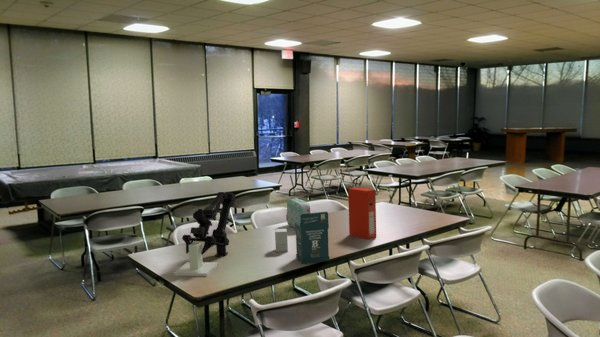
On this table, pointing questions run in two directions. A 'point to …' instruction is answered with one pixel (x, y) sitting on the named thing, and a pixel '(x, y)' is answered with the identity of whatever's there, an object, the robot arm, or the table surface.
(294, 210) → the lunch box
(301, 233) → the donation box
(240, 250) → the table surface
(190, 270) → the grey board
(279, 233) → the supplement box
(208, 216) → the robot arm
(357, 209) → the file binder
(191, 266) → the sage block
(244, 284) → the table surface
